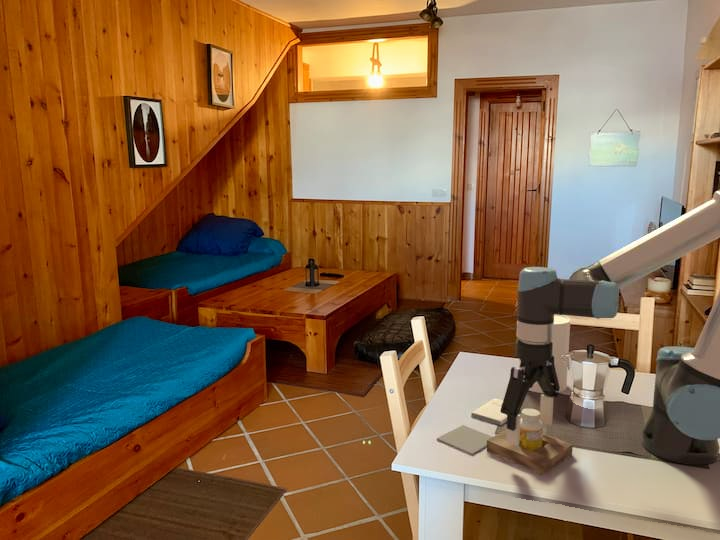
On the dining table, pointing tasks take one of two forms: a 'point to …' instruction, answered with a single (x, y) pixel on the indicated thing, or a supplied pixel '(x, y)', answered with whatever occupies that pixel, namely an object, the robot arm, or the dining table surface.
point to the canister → (558, 351)
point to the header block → (531, 452)
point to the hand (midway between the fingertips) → (529, 432)
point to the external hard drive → (491, 412)
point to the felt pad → (465, 439)
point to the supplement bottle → (531, 430)
